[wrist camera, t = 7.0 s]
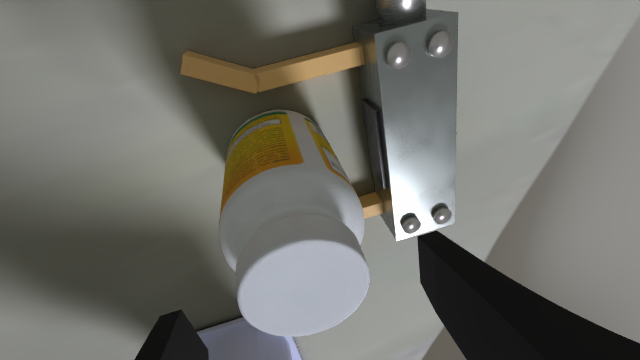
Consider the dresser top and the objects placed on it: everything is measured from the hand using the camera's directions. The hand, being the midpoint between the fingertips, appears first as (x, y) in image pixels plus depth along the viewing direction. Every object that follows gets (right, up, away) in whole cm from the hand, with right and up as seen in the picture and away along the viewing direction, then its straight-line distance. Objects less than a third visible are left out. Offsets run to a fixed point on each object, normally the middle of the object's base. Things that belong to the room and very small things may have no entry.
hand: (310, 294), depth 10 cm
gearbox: (+4, +7, +8) cm, 12 cm away
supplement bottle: (-2, +5, +8) cm, 10 cm away
